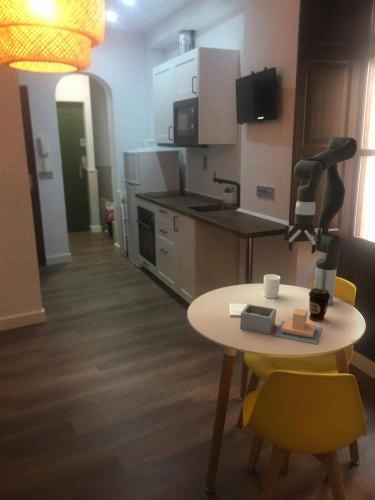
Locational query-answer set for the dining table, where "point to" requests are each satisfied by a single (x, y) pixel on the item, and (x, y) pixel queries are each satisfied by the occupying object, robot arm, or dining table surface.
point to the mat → (299, 338)
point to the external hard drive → (236, 309)
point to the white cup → (271, 285)
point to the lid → (299, 324)
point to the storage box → (258, 319)
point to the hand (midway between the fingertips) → (301, 252)
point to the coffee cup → (318, 304)
